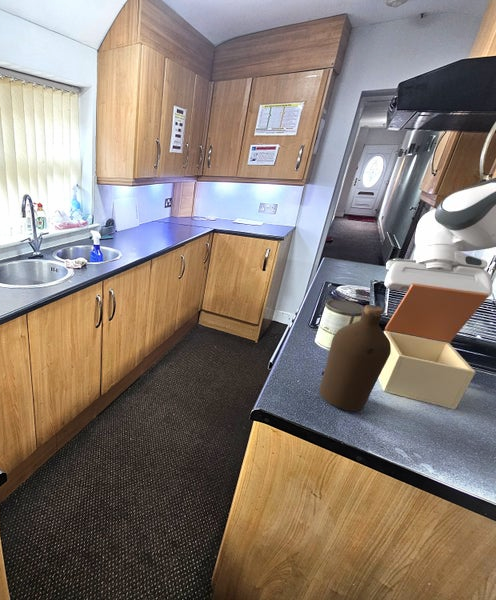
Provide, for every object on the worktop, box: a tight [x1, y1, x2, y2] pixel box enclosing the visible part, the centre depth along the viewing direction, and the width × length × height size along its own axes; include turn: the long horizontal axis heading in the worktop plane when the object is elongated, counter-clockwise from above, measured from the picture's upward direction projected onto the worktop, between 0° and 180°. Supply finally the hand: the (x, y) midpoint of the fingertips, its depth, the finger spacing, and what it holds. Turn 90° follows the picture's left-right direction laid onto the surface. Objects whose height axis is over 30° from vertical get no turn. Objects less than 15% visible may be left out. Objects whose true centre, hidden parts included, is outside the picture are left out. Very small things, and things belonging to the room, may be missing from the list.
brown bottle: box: [318, 304, 391, 412], centre depth 76 cm, size 11×11×25 cm
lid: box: [384, 283, 490, 343], centre depth 84 cm, size 16×14×1 cm
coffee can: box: [314, 298, 365, 351], centre depth 103 cm, size 10×10×14 cm
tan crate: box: [377, 330, 476, 410], centre depth 86 cm, size 16×14×11 cm
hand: (433, 308), depth 84 cm, fingers closed
